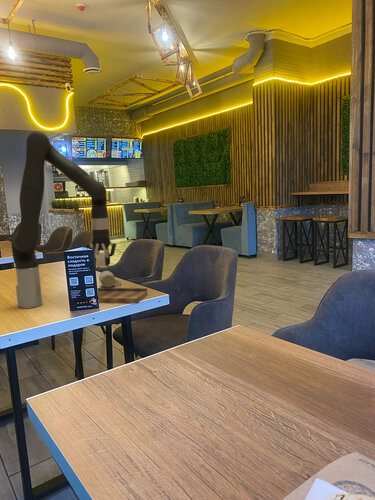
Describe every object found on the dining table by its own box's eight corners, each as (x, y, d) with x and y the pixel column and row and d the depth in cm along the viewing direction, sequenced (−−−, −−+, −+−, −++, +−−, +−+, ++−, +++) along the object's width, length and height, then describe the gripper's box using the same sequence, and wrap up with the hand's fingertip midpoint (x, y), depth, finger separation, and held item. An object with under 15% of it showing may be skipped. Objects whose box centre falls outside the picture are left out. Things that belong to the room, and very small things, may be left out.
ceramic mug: (102, 289, 194) (101, 274, 193) (99, 285, 202) (98, 271, 201) (122, 286, 198) (122, 272, 197) (119, 283, 206) (118, 269, 205)
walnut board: (85, 302, 170) (85, 295, 170) (99, 294, 184) (99, 287, 183) (137, 303, 165) (136, 296, 164) (147, 294, 178) (147, 288, 178)
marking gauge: (93, 269, 170) (92, 256, 169) (100, 265, 180) (99, 252, 179) (102, 269, 169) (101, 256, 168) (109, 265, 180) (108, 252, 179)
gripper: (118, 227, 178) (120, 264, 180) (88, 228, 179) (90, 264, 181) (113, 228, 170) (115, 266, 172) (82, 229, 171) (85, 267, 174)
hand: (102, 265), depth 177 cm, fingers closed on marking gauge, 4 cm apart
